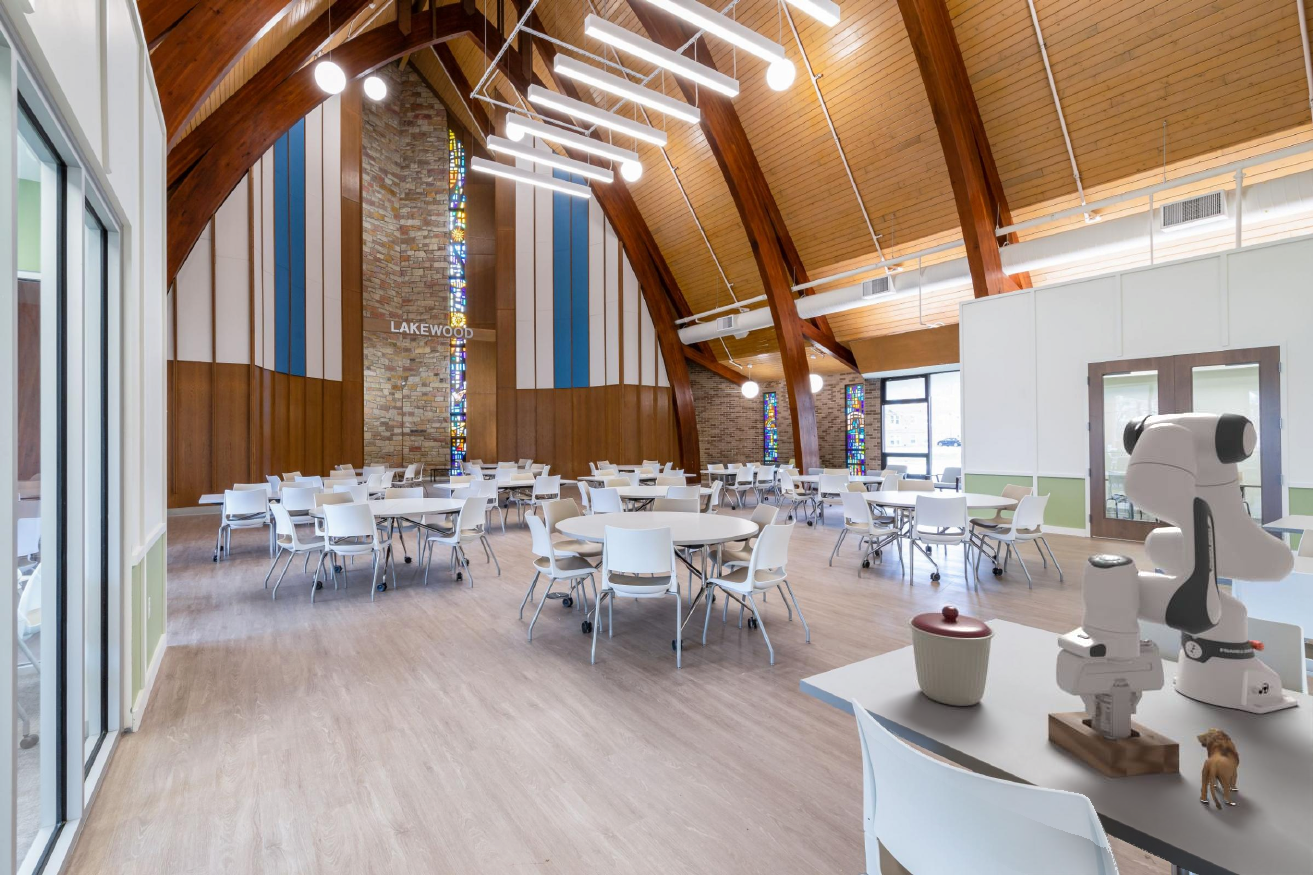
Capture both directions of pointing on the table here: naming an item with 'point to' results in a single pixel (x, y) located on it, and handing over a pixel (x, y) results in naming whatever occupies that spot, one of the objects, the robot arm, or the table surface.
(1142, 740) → the block
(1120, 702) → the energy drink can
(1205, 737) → the lion figurine
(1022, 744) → the table surface
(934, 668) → the canister
